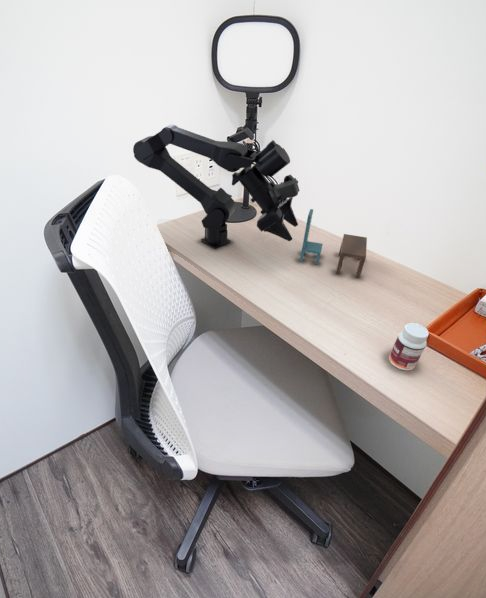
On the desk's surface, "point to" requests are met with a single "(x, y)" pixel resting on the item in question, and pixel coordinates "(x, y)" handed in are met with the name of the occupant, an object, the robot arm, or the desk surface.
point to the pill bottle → (409, 346)
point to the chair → (310, 246)
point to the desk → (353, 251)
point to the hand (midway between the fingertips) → (293, 232)
